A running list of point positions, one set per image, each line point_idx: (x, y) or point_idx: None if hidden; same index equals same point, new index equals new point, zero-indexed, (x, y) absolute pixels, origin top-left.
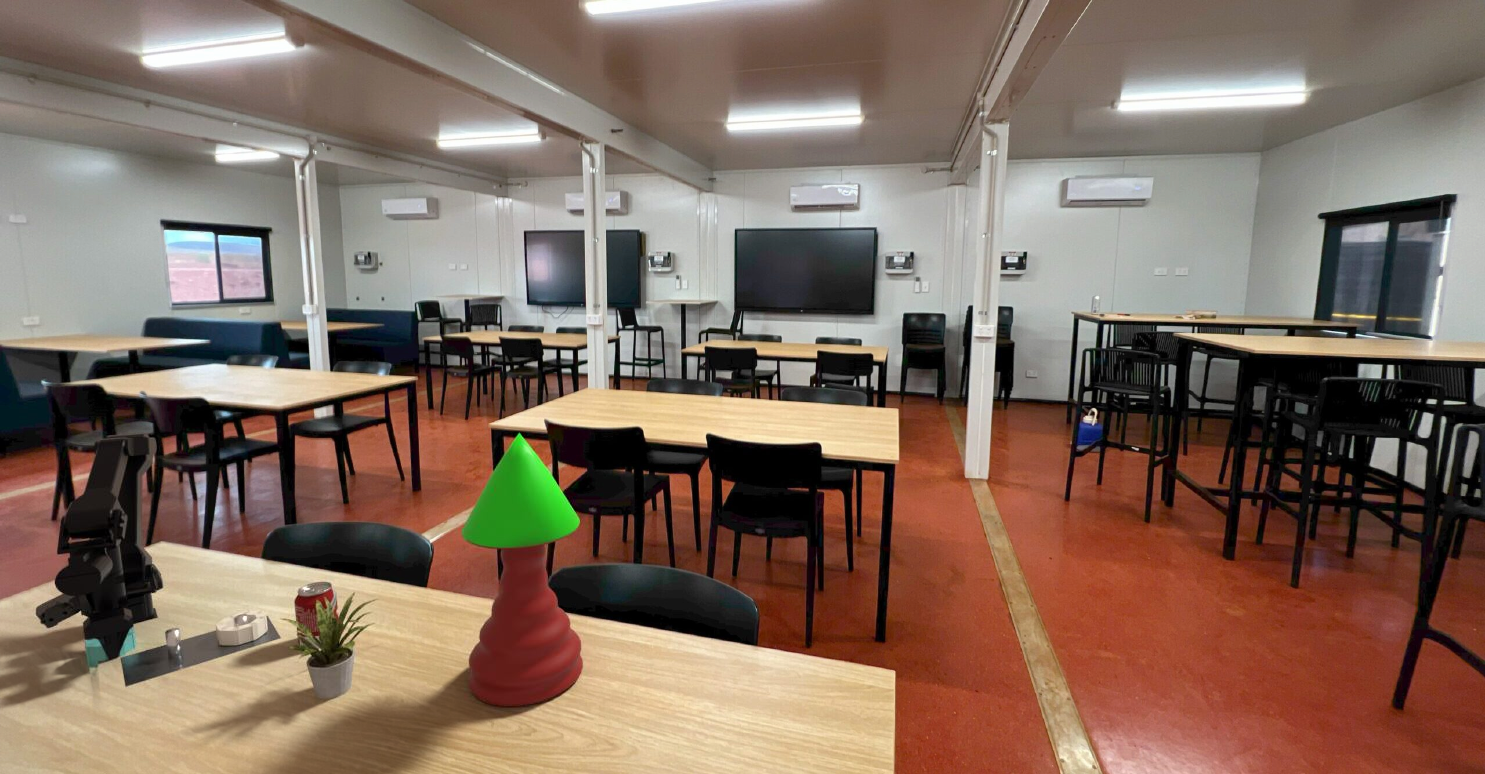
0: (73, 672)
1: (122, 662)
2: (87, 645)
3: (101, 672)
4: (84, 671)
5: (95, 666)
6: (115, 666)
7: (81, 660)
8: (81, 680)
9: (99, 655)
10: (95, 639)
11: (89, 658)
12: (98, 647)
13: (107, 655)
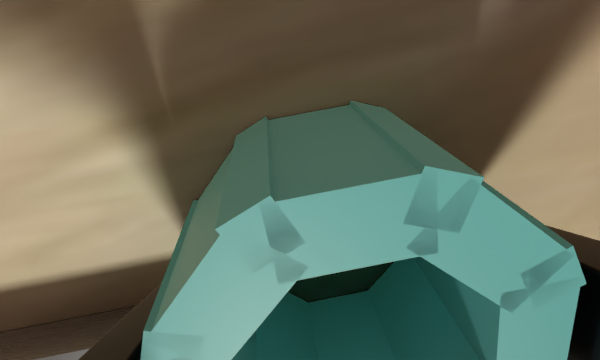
0: (204, 31)
1: (79, 352)
2: (264, 217)
3: (101, 215)
4: (178, 107)
5: (220, 166)
6: (159, 272)
7: (411, 50)
8: (13, 116)
9: (172, 256)
10: (418, 255)
11: (233, 161)
12: (151, 320)
13: (133, 311)
